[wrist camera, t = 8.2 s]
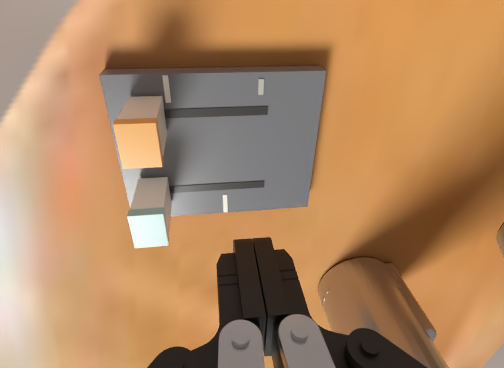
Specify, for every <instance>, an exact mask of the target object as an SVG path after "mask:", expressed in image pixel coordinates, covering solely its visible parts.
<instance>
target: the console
mask: <svg viewBox="0 0 504 368" xmlns="http://www.w3.org/2000/svg"><path fill="white" fill-rule="evenodd" d="M99 76H100V81H101V85H102V89H103V93H104V98H105V102H106V106H107V111H108V115H109V119H110V124H111V128H112V132H113V136H114V141H115V145H116V149H117V154H118V158H119V162H120V167H121V171H122V175H123V180H124V184H125V188H126V192H127V197H128V201H129V205H130V208H131V204H132V201H133V197H134V193H135V190H136V186H137V182H138V179H140V178H158V177H168V182H169V189H170V196H171V203H172V208H171V216H183V215H197V214H211V213H225V212H239V211H253V210H267V209H282V208H296V207H307V206H308V199H309V192H310V184H311V177H312V170H313V163H314V156H315V148H316V141H317V134H318V127H319V120H320V112H321V105H322V98H323V91H324V84H325V76H326V70H325V69H324V68H322V67H321V66H320V65H315V66H255V67H195V68H136V69H104V70H103V71H102V72H101V74H100V75H99ZM139 96H162V98H163V105H164V113H165V120H166V128H167V138H166V144H165V149H164V155H163V166H162V167H154V168H135V169H123V167H122V163H121V159H120V154H119V150H118V146H117V141H116V137H115V132H114V128H113V123H114V121H115V119H117V118H118V116H119V114H120V112H121V110H122V108H123V106H124V104H125V102H126V100H127V98H128V97H139Z"/></svg>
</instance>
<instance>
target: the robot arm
mask: <svg viewBox="0 0 504 368" xmlns="http://www.w3.org/2000/svg"><path fill="white" fill-rule="evenodd" d="M217 285H218V304H219V323H220V325H219V329H218V331H217V333H216V335H215V336H214V338H213V339H212V340H211V341H209V342H208V343H207V344H205V345H203V346H201V347H199V348H196V349H194V350H192V351H190V350H189V349H187V348H184V347H171V348H168V349H166V350H164V351H163V352H161V353H160V354H159V355H158V356H157V357H156V358H155V359H154V360H153V362H152V363H151V364H150V365H149V366H148V367H147V368H265V366H264V356H272V360H273V365H274V368H449V367H448V365H447V364H446V362H445V361H444V359H443V357H442V356H441V354H440V353H439V351H438V349H437V348H436V346H435V344H434V343H433V341H434V339H435V337H436V330H435V328H434V327H433V325H432V324H431V322H430V321H429V319H428V318H427V316H426V314H425V313H424V311H423V310H422V308H421V307H420V305H419V304H418V302H417V301H416V299H415V297H414V296H413V294H412V293H411V291H410V290H409V288H408V287H407V285H406V284H405V282H404V280H403V279H402V277H401V276H400V274H399V273H398V271H397V270H396V268H395V267H394V265H393V264H392V263H383V262H381V261H379V260H378V259H374V258H368V257H361V258H354V259H350V260H347V261H344V262H342V263H340V264H338V265H336V266H334V267H333V268H332V269H330V270H329V271H328V272H327V273H326V274H325V275H324V276H323V278H322V279H321V281H320V283H319V286H318V293H319V296H320V299H321V302H322V306H323V308H324V311H325V313H326V315H327V318H328V321H329V324H330V327H331V329H332V331H328V330H326V329H324V328H322V327H320V326H319V325H318V324H317V323H316V322H315V321H314V320H313V319H312V317H311V316H310V314H309V311H308V308H307V304H306V301H305V298H304V295H303V292H302V288H301V285H300V282H299V280H298V276H297V272H296V270H295V266H294V263H293V260H292V258H291V256H290V255H289V254H288V253H287V252H286V251H285V250H284V249H281V250H274V248H273V244H272V240H271V238H270V237H266V238H253V239H238V240H233V253H227V254H221V256H220V258H219V260H218V262H217ZM263 350H264V354H263Z"/></svg>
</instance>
